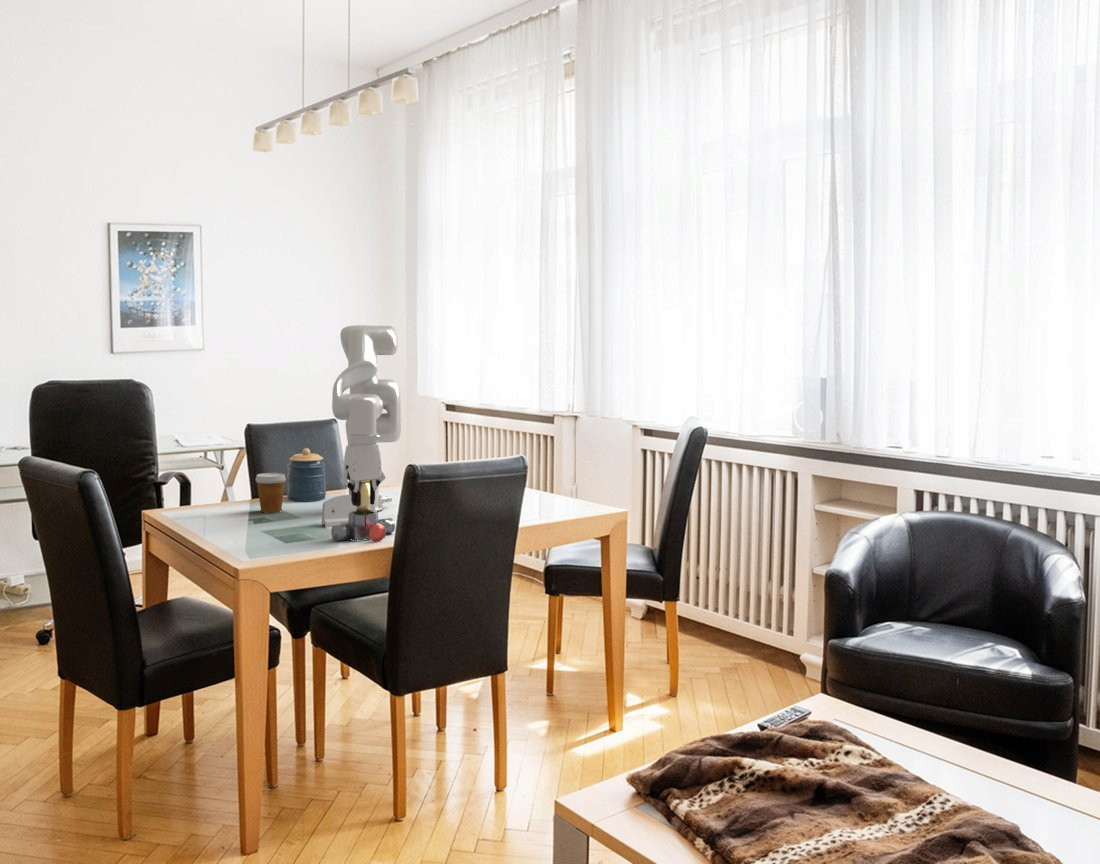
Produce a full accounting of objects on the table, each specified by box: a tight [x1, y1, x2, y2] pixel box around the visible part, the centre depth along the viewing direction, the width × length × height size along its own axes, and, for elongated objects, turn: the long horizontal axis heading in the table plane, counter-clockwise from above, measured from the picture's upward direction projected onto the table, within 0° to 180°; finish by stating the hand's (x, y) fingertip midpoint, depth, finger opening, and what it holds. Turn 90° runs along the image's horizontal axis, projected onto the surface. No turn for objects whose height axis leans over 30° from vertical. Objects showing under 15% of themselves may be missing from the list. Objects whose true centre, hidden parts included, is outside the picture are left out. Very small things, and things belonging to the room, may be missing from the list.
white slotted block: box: [321, 494, 376, 528], centre depth 298 cm, size 17×5×10 cm, turn 116°
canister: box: [286, 447, 327, 503], centre depth 339 cm, size 13×13×18 cm
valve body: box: [330, 510, 396, 542], centre depth 278 cm, size 18×12×7 cm, turn 131°
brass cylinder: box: [356, 479, 371, 515], centre depth 279 cm, size 4×4×12 cm
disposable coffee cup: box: [254, 472, 287, 514], centre depth 315 cm, size 10×10×12 cm
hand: (363, 504), depth 279 cm, fingers closed on brass cylinder, 4 cm apart
